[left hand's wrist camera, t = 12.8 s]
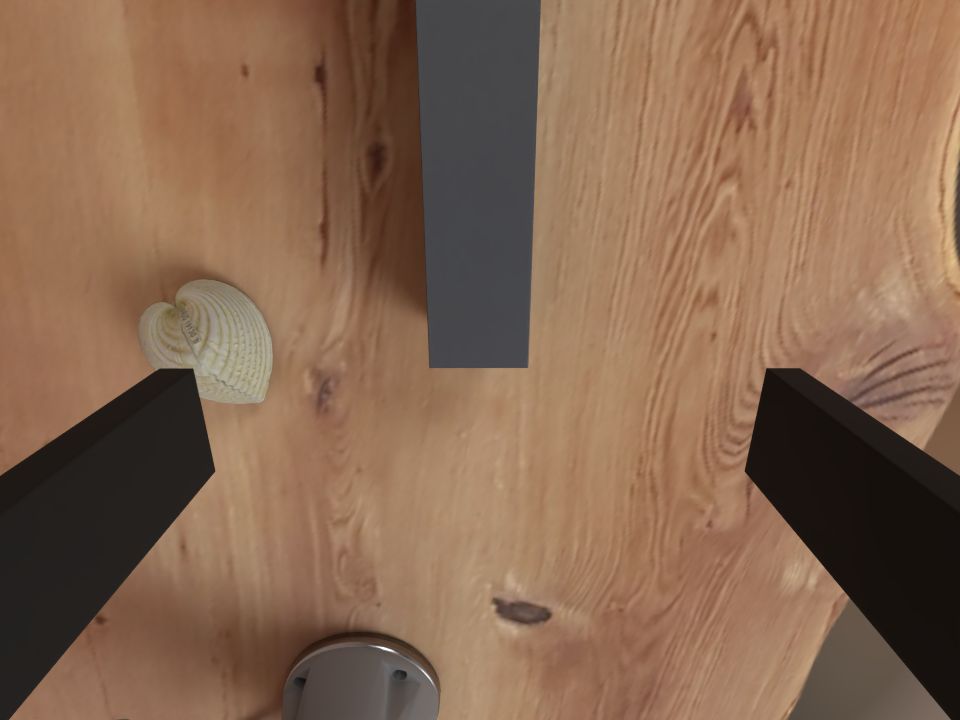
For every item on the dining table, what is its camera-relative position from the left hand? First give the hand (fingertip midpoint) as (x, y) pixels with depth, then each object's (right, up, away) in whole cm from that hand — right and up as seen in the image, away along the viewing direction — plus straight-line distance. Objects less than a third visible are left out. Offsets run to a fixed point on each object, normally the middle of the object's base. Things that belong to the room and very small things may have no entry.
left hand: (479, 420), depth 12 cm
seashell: (-20, +3, +28) cm, 34 cm away
